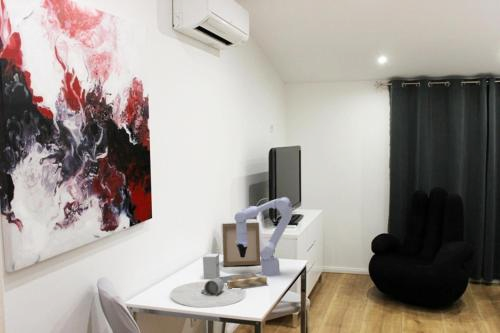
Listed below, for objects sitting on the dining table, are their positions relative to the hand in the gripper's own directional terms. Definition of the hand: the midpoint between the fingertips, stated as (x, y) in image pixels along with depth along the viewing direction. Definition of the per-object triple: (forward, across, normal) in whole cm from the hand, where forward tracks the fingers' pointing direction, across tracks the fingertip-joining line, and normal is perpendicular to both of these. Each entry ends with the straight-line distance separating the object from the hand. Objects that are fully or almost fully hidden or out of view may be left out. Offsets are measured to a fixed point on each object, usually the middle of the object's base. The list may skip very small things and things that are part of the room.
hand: (242, 257), depth 266 cm
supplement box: (+10, 0, -18) cm, 20 cm away
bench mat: (+9, +15, -5) cm, 18 cm away
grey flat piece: (+9, +16, -5) cm, 19 cm away
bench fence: (+9, +22, -5) cm, 25 cm away
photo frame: (+10, -22, +6) cm, 25 cm away
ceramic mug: (+10, +27, -24) cm, 38 cm away
